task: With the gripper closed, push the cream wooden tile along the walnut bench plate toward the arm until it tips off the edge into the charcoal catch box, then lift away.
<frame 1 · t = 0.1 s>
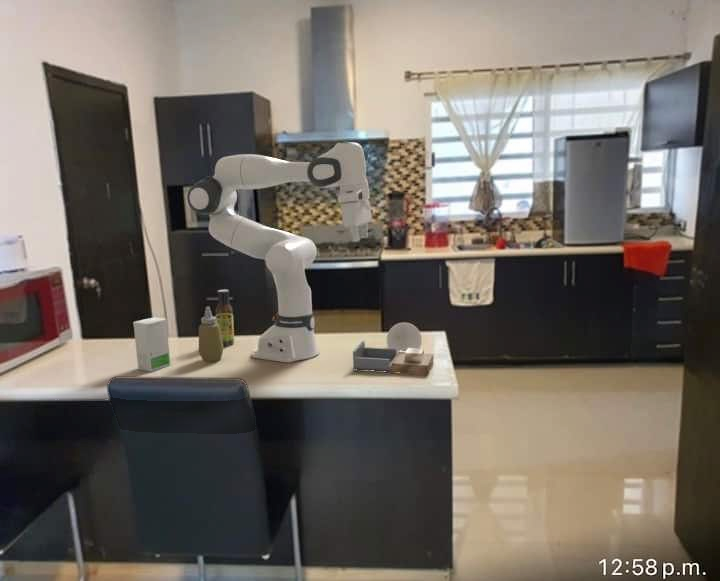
hand: (360, 239, 176), 39 cm above the countertop, tool pointing down, fingers open, 8 cm apart
tile: (414, 358, 173), point 3 cm above the countertop, touching bench plate
squeeze bottle: (212, 360, 187), on the countertop
bench plate: (412, 367, 174), on the countertop
sauce bottle: (226, 344, 204), on the countertop
skincare box: (154, 367, 181), on the countertop
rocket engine: (405, 350, 193), on the countertop
catch box: (376, 365, 177), on the countertop
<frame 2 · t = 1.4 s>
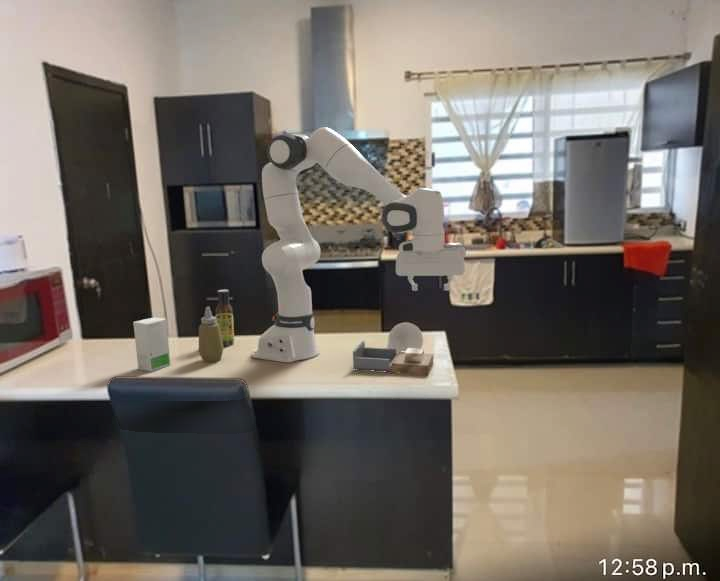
hand: (430, 290, 167), 24 cm above the countertop, tool pointing down, fingers open, 8 cm apart
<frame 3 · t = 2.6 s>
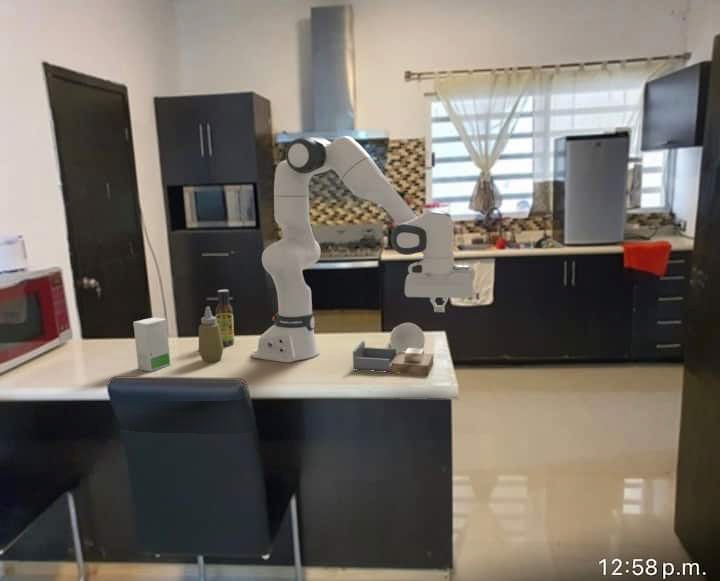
hand: (439, 311, 168), 18 cm above the countertop, tool pointing down, fingers closed
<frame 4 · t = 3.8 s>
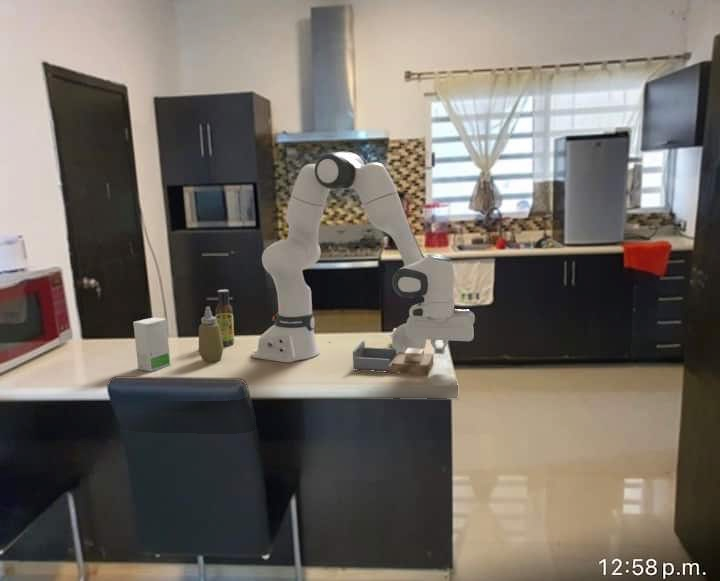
hand: (439, 353, 170), 5 cm above the countertop, tool pointing down, fingers closed
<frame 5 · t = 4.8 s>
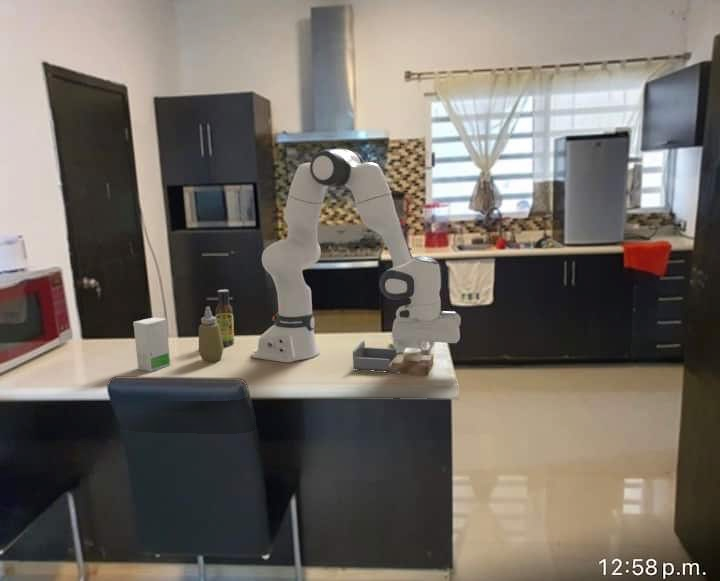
hand: (425, 354, 172), 4 cm above the countertop, tool pointing down, fingers closed
tile: (412, 358, 173), point 3 cm above the countertop, touching gripper
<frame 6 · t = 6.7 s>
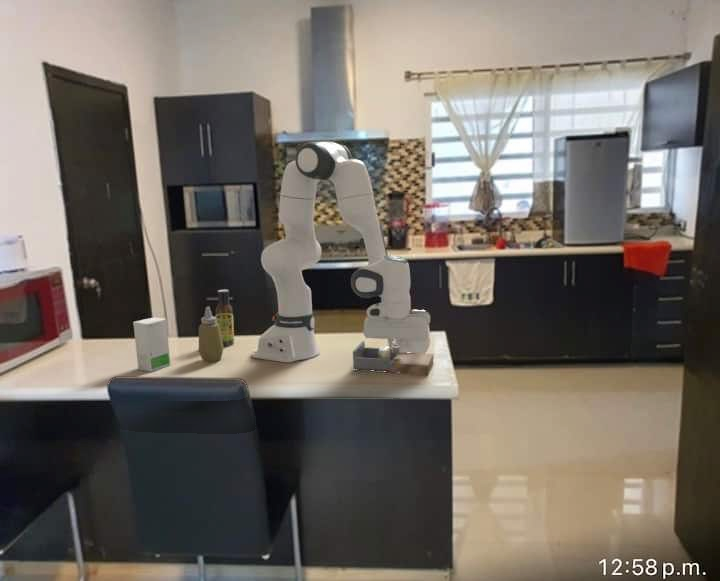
hand: (396, 352, 174), 5 cm above the countertop, tool pointing down, fingers closed
tile: (388, 356, 175), point 3 cm above the countertop, tilted 90°, touching catch box
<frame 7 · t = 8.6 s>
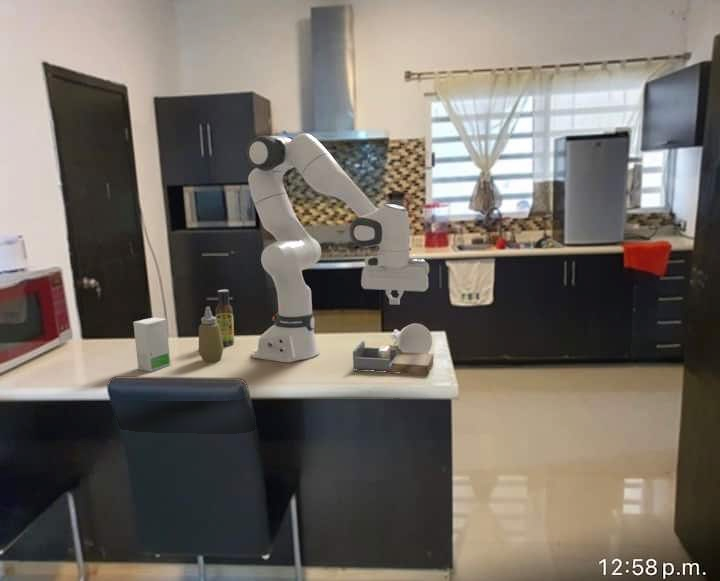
hand: (394, 304, 171), 20 cm above the countertop, tool pointing down, fingers closed
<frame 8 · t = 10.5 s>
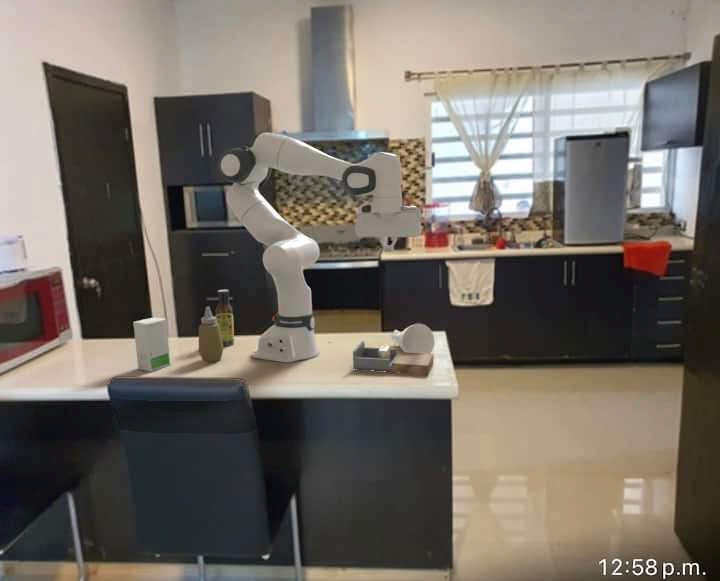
hand: (388, 251, 175), 35 cm above the countertop, tool pointing down, fingers closed
at the end: tile inside the target area (3.7 cm from its centre), point 3.3 cm above the countertop; tile touching catch box; tile moved 8.2 cm from its start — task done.
